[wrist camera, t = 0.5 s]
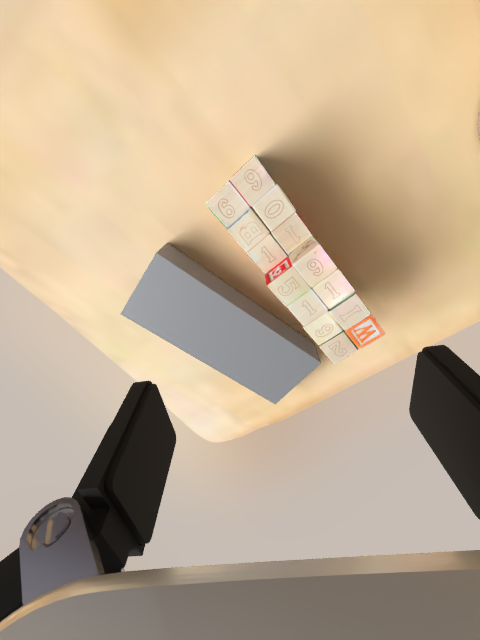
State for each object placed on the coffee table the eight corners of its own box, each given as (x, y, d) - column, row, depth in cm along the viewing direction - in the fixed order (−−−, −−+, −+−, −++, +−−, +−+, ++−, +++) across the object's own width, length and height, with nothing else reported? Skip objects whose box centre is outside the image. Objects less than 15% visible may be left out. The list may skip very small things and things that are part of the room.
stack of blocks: (214, 193, 35) (198, 206, 24) (255, 155, 32) (257, 150, 22) (312, 314, 42) (334, 366, 31) (350, 289, 40) (387, 336, 29)
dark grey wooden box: (167, 242, 37) (156, 252, 33) (314, 343, 44) (320, 362, 40) (134, 298, 42) (120, 313, 37) (273, 382, 48) (275, 404, 44)
